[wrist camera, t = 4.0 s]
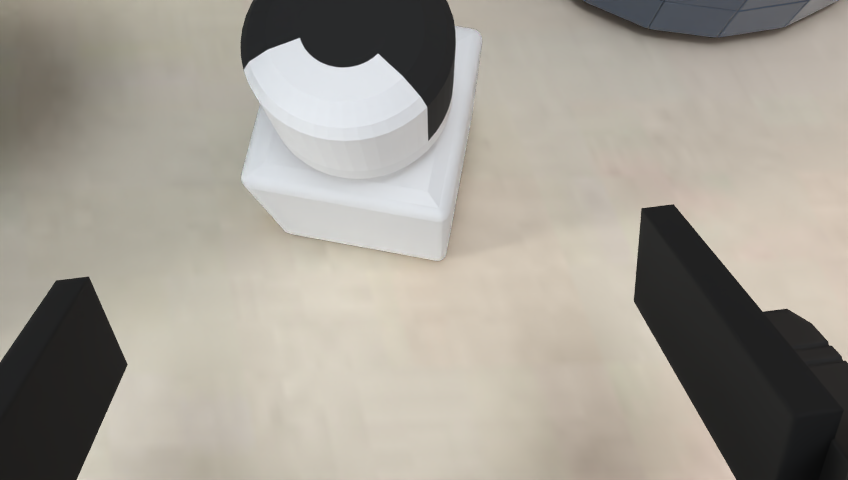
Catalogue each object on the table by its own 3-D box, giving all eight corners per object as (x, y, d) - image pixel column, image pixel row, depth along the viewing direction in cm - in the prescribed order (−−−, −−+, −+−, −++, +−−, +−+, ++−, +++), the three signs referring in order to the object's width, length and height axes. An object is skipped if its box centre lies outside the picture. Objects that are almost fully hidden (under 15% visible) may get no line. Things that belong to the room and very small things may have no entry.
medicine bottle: (319, 85, 31) (248, -107, 19) (473, 111, 30) (497, -69, 19) (282, 234, 29) (181, 124, 17) (444, 263, 29) (451, 171, 17)
